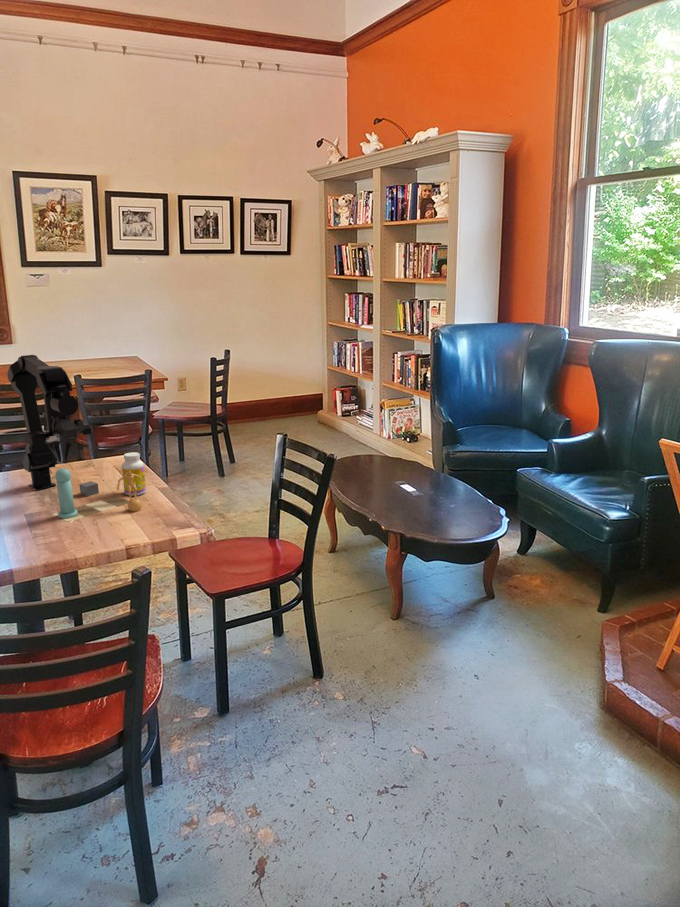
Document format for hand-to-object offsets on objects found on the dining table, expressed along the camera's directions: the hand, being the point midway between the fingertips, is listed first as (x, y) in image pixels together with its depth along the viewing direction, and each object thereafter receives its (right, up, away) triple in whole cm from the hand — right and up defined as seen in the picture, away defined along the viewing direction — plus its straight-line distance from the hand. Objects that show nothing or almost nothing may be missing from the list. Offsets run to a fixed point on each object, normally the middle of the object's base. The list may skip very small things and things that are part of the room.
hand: (62, 461), depth 205 cm
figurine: (+23, -15, -5) cm, 28 cm away
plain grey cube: (+5, -11, +9) cm, 15 cm away
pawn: (+6, -15, -10) cm, 19 cm away
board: (+11, -14, -4) cm, 18 cm away
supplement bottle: (+19, -10, +11) cm, 24 cm away
